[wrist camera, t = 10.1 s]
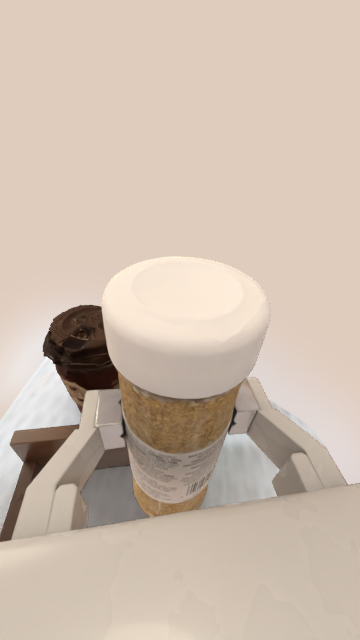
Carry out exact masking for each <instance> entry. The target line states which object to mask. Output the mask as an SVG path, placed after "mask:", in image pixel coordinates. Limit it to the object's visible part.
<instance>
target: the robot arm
mask: <svg viewBox="0 0 360 640" xmlns="http://www.w3.org/2000/svg"><path fill="white" fill-rule="evenodd" d="M242 433H247V435H248V436H249V437H250V438H251V439H252V440H253V441H254V442H255V443H256V444H257V446H258V447H259V448H260V449H261V450H262V451H263V452H264V453H265V454H266V455H267V456H268V458H269V459H270V460H271V461H272V462H273V463H274V464H275V465H276V466H277V467H278V468H279V469H280V470H279V472H278V473H277V474H276V476H275V477H274V478H273V480H272V483H273V486H274V488H275V491H276V494H277V496H278V497H272V498H265V499H259V500H253V501H247V502H241V503H235V504H229V505H223V506H217V507H211V508H205V509H198V510H192V511H186V512H180V513H174V514H168V515H162V516H156V517H150V518H144V519H138V520H132V521H125V522H119V523H113V524H107V525H101V526H95V527H89V528H87V526H88V516H89V509H88V507H87V505H86V503H85V501H84V499H83V497H82V495H81V493H80V492H81V490H82V489H83V487H84V485H85V484H86V482H87V480H88V479H89V477H90V475H91V474H92V472H93V470H94V468H95V467H96V465H97V463H98V462H99V460H100V458H101V457H102V455H103V453H104V452H105V451H104V450H108V449H115V448H121V447H126V433H125V427H124V420H123V413H122V405H121V390H120V388H119V389H103V390H89V391H87V392H86V394H85V398H84V404H83V409H82V415H81V420H80V426H79V429H75V430H74V431H73V433H72V434H71V435H70V436H69V437H68V439H67V440H66V441H65V442H64V444H63V445H62V446H61V447H60V448H59V450H58V451H57V452H56V453H55V454H54V456H53V457H52V458H51V459H50V461H49V462H48V463H47V464H46V465H45V467H44V468H43V469H42V470H41V471H40V473H39V474H38V475H37V476H36V478H35V479H34V480H33V481H32V482H31V484H30V485H29V486H28V487H27V489H26V492H25V495H24V499H23V502H22V505H21V509H20V512H19V515H18V519H17V522H16V525H15V529H14V532H13V535H12V539H11V540H10V541H4V542H0V640H360V483H357V484H351V485H348V484H347V482H346V481H345V479H344V477H343V476H342V474H341V473H340V470H339V469H338V467H337V465H336V464H335V462H334V460H333V459H332V457H331V455H330V454H329V452H328V450H327V449H326V448H325V447H324V446H323V445H322V444H320V443H319V442H318V441H316V440H315V439H314V438H313V437H311V436H310V435H309V434H308V433H306V432H305V431H304V430H302V429H301V428H300V427H299V426H297V425H296V424H295V423H294V422H292V421H291V420H290V419H288V418H287V417H286V416H285V415H283V414H282V413H281V412H280V411H278V410H277V409H273V408H272V406H271V404H270V402H269V400H268V398H267V396H266V394H265V392H264V390H263V388H262V386H261V384H260V382H259V380H258V379H257V378H256V377H249V378H246V379H245V380H244V382H243V383H242V384H241V387H240V389H239V392H238V395H237V399H236V403H235V406H234V409H233V415H232V420H231V423H230V425H229V428H228V434H229V435H231V434H242Z"/></svg>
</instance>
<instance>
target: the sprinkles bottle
mask: <svg viewBox="0 0 360 640" xmlns="http://www.w3.org/2000/svg"><path fill="white" fill-rule="evenodd" d="M101 306H102V315H103V323H104V330H105V336H106V342H107V348H108V353H109V356H110V359H111V361H112V362H113V364H114V366H115V368H116V369H117V371H118V378H119V383H120V390H121V405H122V413H123V420H124V427H125V433H126V440H127V447H128V453H129V460H130V466H131V470H132V473H133V491H134V495H135V497H136V499H137V502H138V504H139V506H140V507H141V509H142V510H143V511H144V513H146V514H147V515H148V516H149V517H156V516H162V515H168V514H174V513H180V512H186V511H192V510H197V509H198V508H199V507H200V505H201V504H202V502H203V500H204V497H205V495H206V492H207V486H208V482H209V480H210V478H211V476H212V473H213V470H214V467H215V464H216V462H217V459H218V456H219V454H220V451H221V449H222V446H223V443H224V440H225V437H226V434H227V431H228V428H229V425H230V423H231V420H232V415H233V409H234V406H235V403H236V399H237V395H238V392H239V389H240V387H241V384H242V383H243V382H244V380H245V379H246V377H247V376H248V375H249V374H250V372H251V371H252V369H253V367H254V366H255V363H256V361H257V358H258V355H259V352H260V349H261V347H262V344H263V341H264V338H265V334H266V331H267V328H268V325H269V321H270V303H269V300H268V298H267V295H266V294H265V292H264V291H263V289H262V288H261V287H260V285H258V284H257V283H256V282H255V281H254V280H253V279H252V278H250V277H249V276H248V275H246V274H245V273H243V272H241V271H239V270H237V269H235V268H233V267H231V266H228V265H226V264H222V263H220V262H216V261H212V260H207V259H201V258H193V257H161V258H155V259H150V260H146V261H142V262H139V263H136V264H133V265H131V266H129V267H127V268H126V269H124V270H122V271H120V272H119V273H118V274H116V275H115V276H114V277H113V278H112V279H111V280H110V282H109V283H108V285H107V286H106V288H105V290H104V293H103V296H102V305H101Z"/></svg>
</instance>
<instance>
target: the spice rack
mask: <svg viewBox="0 0 360 640" xmlns="http://www.w3.org/2000/svg"><path fill="white" fill-rule="evenodd" d="M79 426H80V425H70V426H60V427H50V428H40V429H30V430H20V431H15V432H14V434H13V437H12V440H11V442H10V446H11V447H12V448H13V450H14V451H15V452H16V454H17V455H18V456H19V457H20V459H21V460H22V461H23V462H24V463H23V466H22V470H21V473H20V476H19V479H18V482H17V485H16V488H15V491H14V494H13V497H12V501H11V504H10V507H9V510H8V513H7V516H6V519H5V522H4V525H3V529H2V532H1V535H0V542H4V541H10V540H11V539H12V535H13V532H14V529H15V525H16V522H17V519H18V515H19V512H20V509H21V505H22V502H23V499H24V495H25V492H26V489H27V487H28V486H29V485H30V484H31V482H32V481H33V480H34V479H35V478H36V476H37V475H38V474H39V473H40V471H41V470H42V469H43V468H44V467H45V465H46V464H47V463H48V462H49V461H50V459H51V458H52V457H53V456H54V454H55V453H56V452H57V451H58V450H59V448H60V447H61V446H62V445H63V444H64V442H65V441H66V440H67V439H68V437H69V436H70V435H71V434H72V433H73V431H74V430H75V429H79ZM104 451H105V452H104V453H103V455H102V457H101V458H100V460H99V462H98V463H97V465H96V467H95V468H94V469H102V468H110V467H117V466H125V465H130V460H129V453H128V447H127V440H126V447H121V448H115V449H108V450H104Z"/></svg>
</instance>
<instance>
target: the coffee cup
mask: <svg viewBox="0 0 360 640" xmlns="http://www.w3.org/2000/svg"><path fill="white" fill-rule="evenodd" d="M50 326H51V327H50V328H49V330H50V331H49V332H48V334H47V335H46V338H45V341H44V344H43V352H44V356H47V357H48V358H50V359H51V360H53V364H56V370H57V372H58V374H59V375H60V377H61V379H62V381H63V383H64V384H65V386H66V388H67V390H68V392H69V394H70V396H71V397H72V399H73V400H74V401H75V403H76V404H77V405H78V408H79V410H80V412H81V414H82V409H83V404H84V398H85V394H86V392H87V391H89V390H103V389H119V388H120V383H119V378H118V371H117V369H116V368H115V366H114V364H113V362H112V361H111V359H110V356H109V353H108V348H107V342H106V336H105V330H104V323H103V315H102V307H100V306H94V305H80V306H78V307H74V308H71V309H69V310H67V311H65V312H63V313H61V314H59V315H58V316H57V317H55V318H54V319H53V323H51V325H50Z"/></svg>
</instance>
